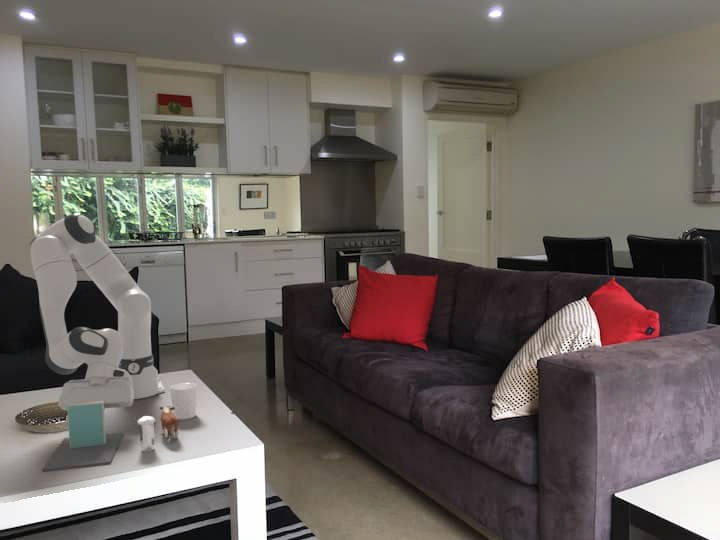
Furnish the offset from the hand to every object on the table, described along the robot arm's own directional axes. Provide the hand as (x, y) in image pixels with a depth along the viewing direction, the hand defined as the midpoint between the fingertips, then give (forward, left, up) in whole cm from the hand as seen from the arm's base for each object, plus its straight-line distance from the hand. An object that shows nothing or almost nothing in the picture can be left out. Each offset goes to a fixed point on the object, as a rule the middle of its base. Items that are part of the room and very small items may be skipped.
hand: (91, 421), depth 165 cm
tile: (+4, 0, -5) cm, 7 cm away
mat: (+7, 0, -6) cm, 9 cm away
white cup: (-15, +25, -6) cm, 29 cm away
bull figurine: (+2, +21, -6) cm, 22 cm away
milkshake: (+11, +16, -6) cm, 20 cm away
